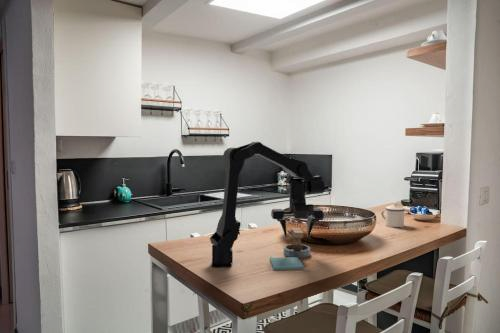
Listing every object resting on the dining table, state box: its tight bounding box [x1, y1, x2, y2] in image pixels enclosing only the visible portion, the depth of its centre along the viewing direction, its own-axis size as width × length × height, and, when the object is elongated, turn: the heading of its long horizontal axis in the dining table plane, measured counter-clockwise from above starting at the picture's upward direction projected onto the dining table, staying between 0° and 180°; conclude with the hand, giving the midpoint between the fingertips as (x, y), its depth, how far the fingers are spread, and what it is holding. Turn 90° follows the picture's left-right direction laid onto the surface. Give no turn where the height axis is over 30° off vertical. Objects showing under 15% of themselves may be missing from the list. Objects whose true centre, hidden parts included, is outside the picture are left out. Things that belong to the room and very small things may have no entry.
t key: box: [290, 227, 304, 251], centre depth 132 cm, size 7×5×9 cm
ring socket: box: [283, 243, 311, 259], centre depth 132 cm, size 10×10×2 cm
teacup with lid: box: [380, 202, 406, 228], centre depth 179 cm, size 12×9×12 cm
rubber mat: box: [269, 256, 305, 271], centre depth 121 cm, size 10×10×1 cm
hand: (296, 236), depth 132 cm, fingers open, 8 cm apart
